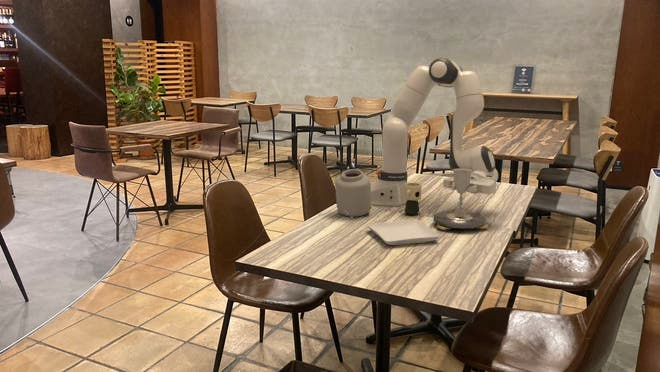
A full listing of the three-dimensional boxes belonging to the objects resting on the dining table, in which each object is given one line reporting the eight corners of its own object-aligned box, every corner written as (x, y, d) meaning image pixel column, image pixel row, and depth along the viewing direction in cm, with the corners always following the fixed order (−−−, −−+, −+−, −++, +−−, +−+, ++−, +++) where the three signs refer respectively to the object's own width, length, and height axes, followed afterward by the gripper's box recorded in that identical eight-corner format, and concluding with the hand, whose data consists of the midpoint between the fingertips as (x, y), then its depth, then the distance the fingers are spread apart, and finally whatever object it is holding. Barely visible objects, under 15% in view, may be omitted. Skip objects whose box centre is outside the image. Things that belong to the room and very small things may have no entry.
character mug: (414, 218, 229) (415, 187, 226) (398, 215, 233) (399, 185, 230) (424, 212, 238) (425, 182, 235) (409, 209, 242) (410, 180, 239)
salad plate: (386, 249, 193) (386, 240, 192) (365, 231, 213) (366, 223, 212) (441, 244, 198) (441, 235, 198) (416, 227, 218) (417, 218, 218)
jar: (361, 222, 223) (362, 161, 217) (328, 218, 228) (327, 159, 223) (375, 210, 240) (376, 154, 234) (343, 207, 245) (344, 151, 240)
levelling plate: (440, 234, 208) (441, 224, 208) (427, 218, 229) (427, 209, 228) (492, 233, 210) (493, 223, 209) (474, 217, 230) (475, 208, 229)
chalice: (468, 212, 221) (470, 168, 217) (470, 217, 214) (473, 172, 210) (449, 212, 222) (451, 168, 217) (451, 217, 215) (453, 171, 211)
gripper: (452, 171, 231) (436, 177, 220) (499, 177, 219) (485, 184, 208) (451, 186, 232) (436, 192, 222) (498, 193, 220) (484, 200, 209)
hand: (460, 188), depth 215 cm, fingers closed on chalice, 5 cm apart
